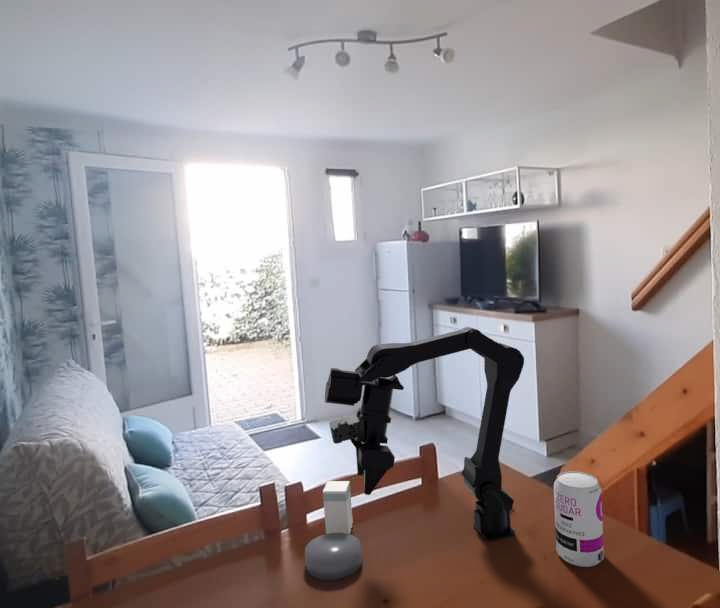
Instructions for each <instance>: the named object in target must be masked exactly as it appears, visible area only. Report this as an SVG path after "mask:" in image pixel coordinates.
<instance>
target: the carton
mask: <svg viewBox="0 0 720 608" xmlns="http://www.w3.org/2000/svg"><path fill="white" fill-rule="evenodd" d="M322 500H323V510H324V511H323V513H324V524H325V534H329V533H346V534H350V535H351V532H352V529H351V528H353V525H354V524H353V523H354V522H353V521H354V520H353V511H352V510H353V509H352V495H351V481H350V480H338V481H337V480H335V481H334V480H333V481H332V480H328V481H326V483H325V485H324V488H323V490H322ZM352 524H353V525H352Z"/></svg>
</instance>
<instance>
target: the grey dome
mask: <svg viewBox="0 0 720 608" xmlns="http://www.w3.org/2000/svg"><path fill="white" fill-rule="evenodd" d="M362 555H363V554H362V543H361V541H360V540H359V539H358V538H357V537H356V536H354V535H352V534H351V533H350V534H346V533H329V534H326V533H325V534H322V535H319V536H317V537H314V538H313V539H312V540H310V541H309V542H308V543H307V545H305V549H304V561H305V568H306V571H307V573H308V574H309V575H310V576H312V577H313V578H316V579H319V580H325V581H333V580H334V581H335V580H340V579H344V578H347V577H349V576H352V575H353V574H355V573H356V572H357V571H358V570H359V569H360V568H361V566H362V563H363V556H362Z"/></svg>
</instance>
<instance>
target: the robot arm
mask: <svg viewBox="0 0 720 608" xmlns="http://www.w3.org/2000/svg"><path fill="white" fill-rule="evenodd" d="M467 350H471V351H472V352H474V353H476V354H477V355H479V356H480V357H482V358H483V359H484V365H483V367H484V375H485V379H486V384H487V385H486V391H485V397H484V403H483V410H482V413H481V414H482V415H481V421H480V427H479V431H478V437H477V445H476V448H475V452H474V453H473V455H472V456H471V458H470V457H468V456H465V457H464V460H463V469H462V472H461V473H460V475H461V476H462V477H463V483H464V485H465V486H466V488H467V489H468V490H469V492H471V493H472V495H473V496H474V497H475V499H476V501H475V509H474V510H473V517H474V518H473V519H474V523H473V525H472V526H473V528H474V529H475V530H476V531H477V532H478V533H479V534H480V535H481V536H482V537H483V538H484V539H485V540H486V541H487V542H488V541H493V540H497V539H501V538H502V539H503V538H507V537H511V536H514V535H516V531H515V530H514V529H512V527H511V511H512V509H513V505H514V502H515V501H514V498H512V497H511V495H509V494H508V493H507V492H506V491H505V490H504V489H503V487H502V486H503V479H502V478H503V475H502V471H501V465H500V453H501V446H502V440H503V436H504V431H505V429H504V428H505V424H506V418H507V412H508V406H509V401H510V394H511V391H512V390H513V388H514V387H515V385H516V384H517V382H518V381H519V379H520V376H521V373H522V371H523V369H524V368H523V367H524V365H525V357H524V355H523V354H522V353H521V352H522V351H520V350H519V349H518V348H515V347H513V346H510V345H508V344H505V343H501V342H497V341H495V340H493V339H492V338H491V337H489V336H487V335H485V334H483V333H482V332H481V331H480V330H479V329H477V328H474V327H470V326H467V327H466V326H465V327H463V328H461V329H458V330H455V331H451V332H446V333H442V334H439V335H434V336H432V337H427V338H424V339H419V340H415V341H412V342H403V343H402V342H391V343H378V344H376V345H373V346H372V347H370V349H369V350H368V352H367V355H366V358H365V359H364V360H363V361H362V362H361V363H360V364H359V365H358V366H357V368H355V369H354V371H352V370H346V369H345V370H344V369H343V370H342V369H339V368H336V367H335V368H334V367H331V368H330V371H329V375H328V378H327V381H326V384H325V391H324V403H325V404H332V405H333V404H334V405H343V406H350V407H353V406H355V404H358V403H359V402H361V407H360V408H358V409H357V410H356V415H354V416H349V417H344V418H339V419H335V420H331V421H329V428H330V433H331V438H332V442H333V444H341V443H343V442H345V441H346V442H347V441H348V440H349V441H350V442H351V443H352V444H353V446H354V447H355V456H356V469H357V470H356V471H357V476H363V484H364V485H363V488H364V489H363V491H364V495H365V496H366V495H367V496H370V495H371V494H372V493H373V491H374V490H375V488H376V487H377V485H378V484H379V483H380V481H381V480H382V478H383V477H384V476H385V475H386V473H388V471H389V470H391V468H392V469H393V468H394V465H395V458H396V457H395V456H394V454H393V452H392V450H391V448H389V446H388V445H386V444H388V440H389V438H388V437H387V431H388V430H387V429H388V425H389V424H391V423H392V422H391V420H392V417H391V416H390V411H391V410H390V409H391V405H392V398H393V393H394V392H393V391H394V390H399V391H403V390H404V389H405V387H404V386H403V385H402V383H401V382H400V379H399V377H398V376H397V375H398V374H400V373H402V372H404V371H406V370H408V369H409V368H410V367H412V366H414V365H416V364H418V363H421V362H425V361H429V360H432V359H436V358H439V357H444V356H448V355H451V354H456V353H459V352H464V351H467ZM363 386H364V387H363ZM361 399H362V400H361ZM382 444H385V445H382Z"/></svg>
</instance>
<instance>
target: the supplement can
mask: <svg viewBox="0 0 720 608" xmlns="http://www.w3.org/2000/svg"><path fill="white" fill-rule="evenodd" d="M602 499H603V498H602V487H601V486H600V483H599V482H598V479H597V478H596V477H595V476H594V475H591V474H589V473H586V472H583V471H582V472H581V471H564V472H561V473H559V474H558V475H557V476H556V479H555V481H554V483H553V501H554V523H555V526H554V527H555V546H556V547H555V548H556V552H557V555H558V556H559V557H560V558H561V559H562V560H564V562H567V563H568V564H570V565H573V566H576V567H580V568H581V567H583V568H588V567H589V568H590V567H595V566H597V565H599V564H600V563H601V562H603V560H604V558H605V556H604V529H603V528H604V527H603V502H602V501H603V500H602Z"/></svg>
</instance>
